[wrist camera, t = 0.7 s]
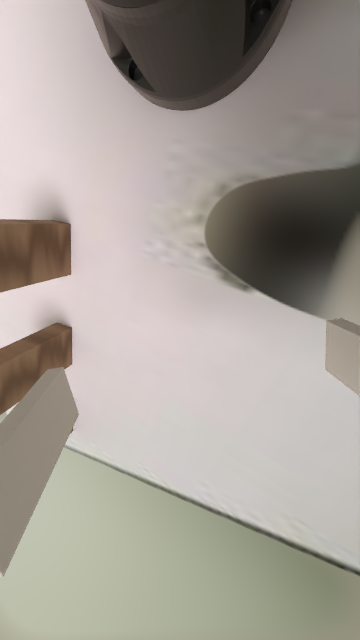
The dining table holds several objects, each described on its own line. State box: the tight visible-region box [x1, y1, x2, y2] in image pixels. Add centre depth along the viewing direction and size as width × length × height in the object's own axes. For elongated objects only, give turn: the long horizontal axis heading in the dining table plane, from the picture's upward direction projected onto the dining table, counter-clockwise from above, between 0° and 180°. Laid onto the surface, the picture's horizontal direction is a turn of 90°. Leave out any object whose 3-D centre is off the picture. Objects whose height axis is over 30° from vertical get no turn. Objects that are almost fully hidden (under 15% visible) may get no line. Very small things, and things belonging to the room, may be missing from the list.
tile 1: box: [0, 219, 71, 292], centre depth 26 cm, size 6×3×12 cm, turn 170°
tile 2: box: [0, 323, 72, 414], centre depth 31 cm, size 6×3×12 cm, turn 170°
